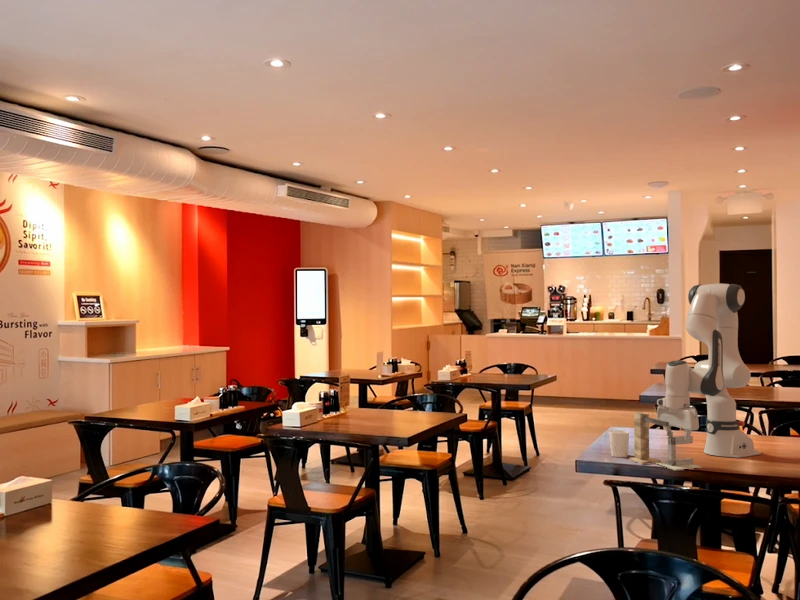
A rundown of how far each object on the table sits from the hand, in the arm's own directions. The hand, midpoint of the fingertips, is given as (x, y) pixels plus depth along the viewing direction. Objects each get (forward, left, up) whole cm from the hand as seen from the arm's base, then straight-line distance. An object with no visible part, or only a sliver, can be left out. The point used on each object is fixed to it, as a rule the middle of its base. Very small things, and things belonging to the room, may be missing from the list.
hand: (677, 438), depth 277 cm
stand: (+7, -6, -11) cm, 14 cm away
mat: (0, 0, -11) cm, 11 cm away
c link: (-1, 0, -10) cm, 10 cm away
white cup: (+10, -24, -11) cm, 28 cm away
